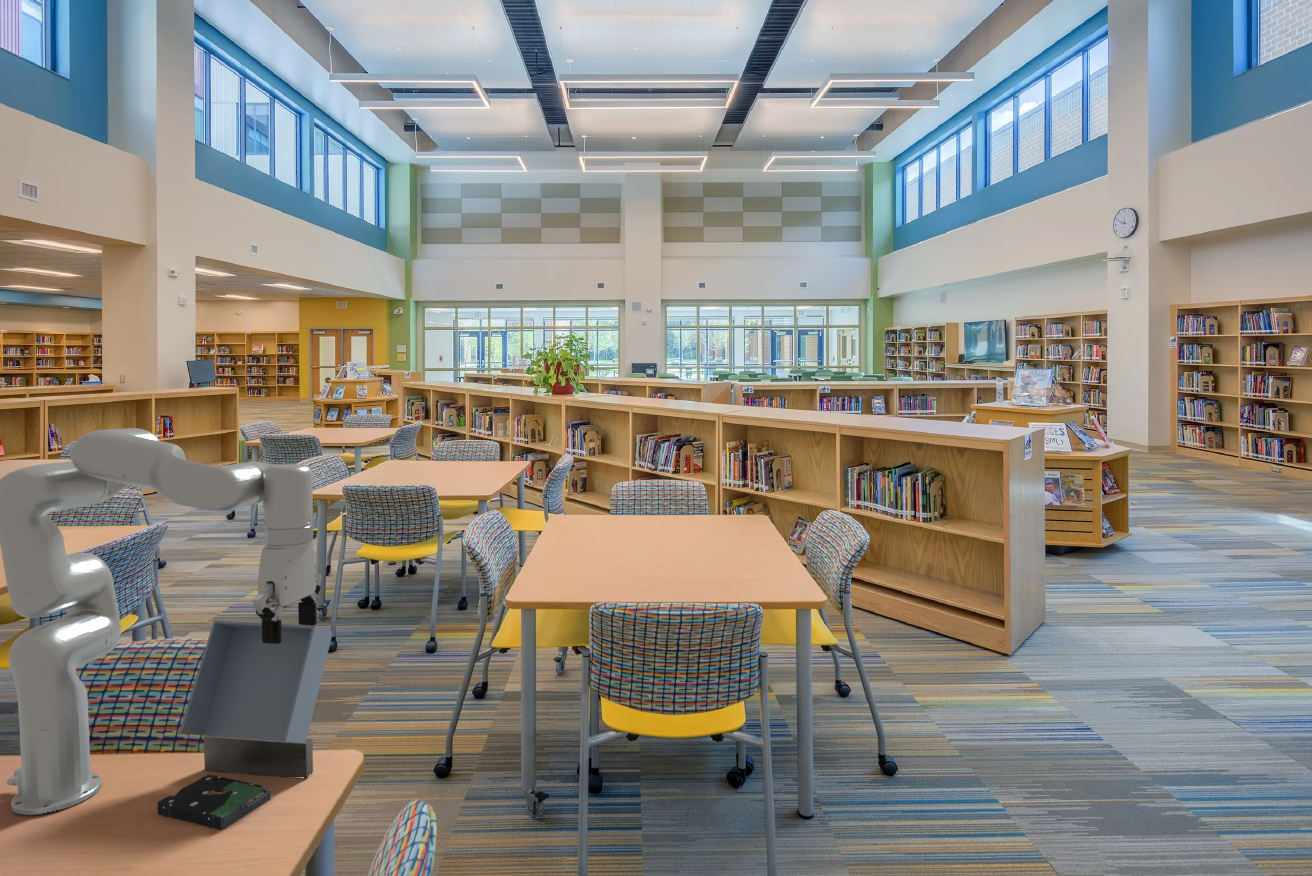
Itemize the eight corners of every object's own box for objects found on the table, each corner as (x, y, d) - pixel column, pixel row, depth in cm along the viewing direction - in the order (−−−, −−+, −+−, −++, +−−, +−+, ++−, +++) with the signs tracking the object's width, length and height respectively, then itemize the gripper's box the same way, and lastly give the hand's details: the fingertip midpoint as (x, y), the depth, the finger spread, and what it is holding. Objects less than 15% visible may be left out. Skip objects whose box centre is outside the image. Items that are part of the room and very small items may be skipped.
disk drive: (155, 818, 126) (223, 833, 122) (155, 802, 126) (222, 817, 122) (208, 787, 136) (272, 800, 132) (208, 773, 136) (272, 785, 131)
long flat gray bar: (204, 771, 141) (203, 736, 140) (212, 765, 143) (211, 731, 142) (306, 779, 138) (306, 744, 138) (313, 773, 140) (312, 739, 140)
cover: (214, 620, 142) (235, 626, 148) (178, 733, 134) (203, 735, 140) (315, 625, 140) (332, 631, 146) (285, 741, 131) (305, 742, 138)
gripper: (300, 526, 135) (301, 617, 136) (233, 545, 118) (235, 649, 119) (337, 528, 134) (338, 619, 135) (276, 547, 117) (277, 652, 118)
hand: (290, 633), depth 127 cm, fingers open, 9 cm apart
